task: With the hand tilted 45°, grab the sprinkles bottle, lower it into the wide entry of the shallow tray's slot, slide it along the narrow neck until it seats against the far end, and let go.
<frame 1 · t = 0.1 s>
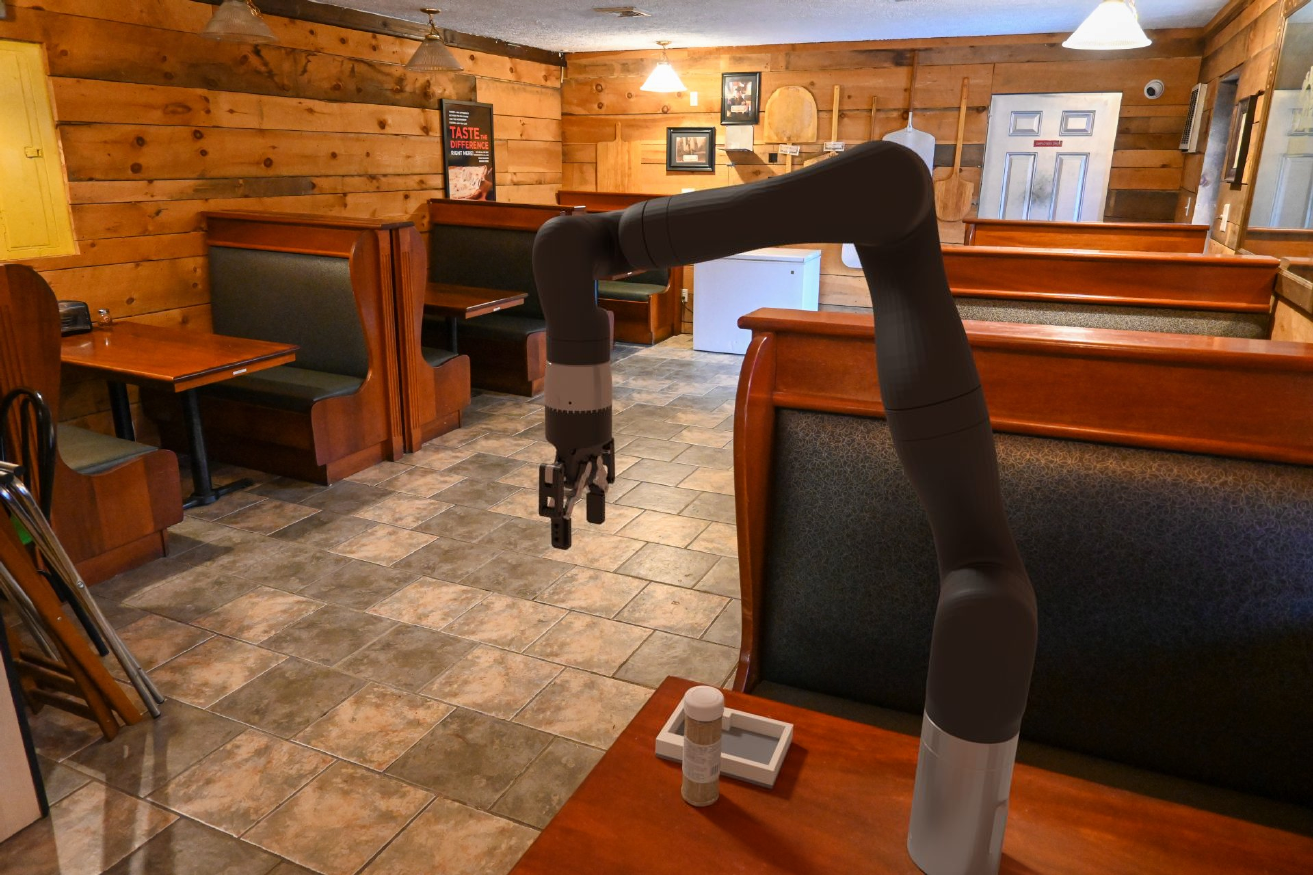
hand: (579, 534, 101), 29 cm above the table, tool pointing down, fingers open, 8 cm apart
shallow tray: (724, 748, 110), on the table
sprinkles bottle: (699, 796, 101), on the table
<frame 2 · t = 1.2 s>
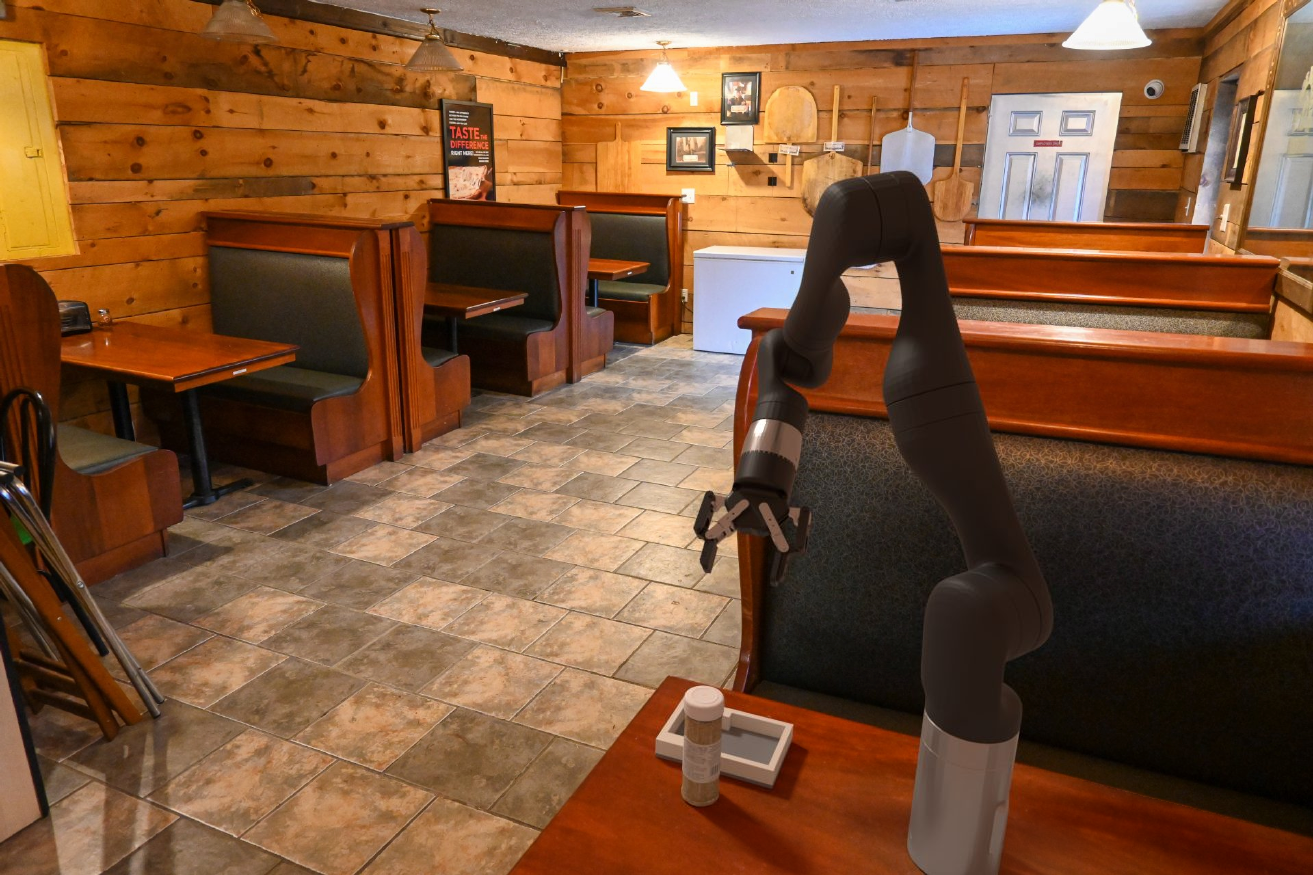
hand: (739, 577, 106), 23 cm above the table, tool tilted 45°, fingers open, 8 cm apart
nothing on the table moved.
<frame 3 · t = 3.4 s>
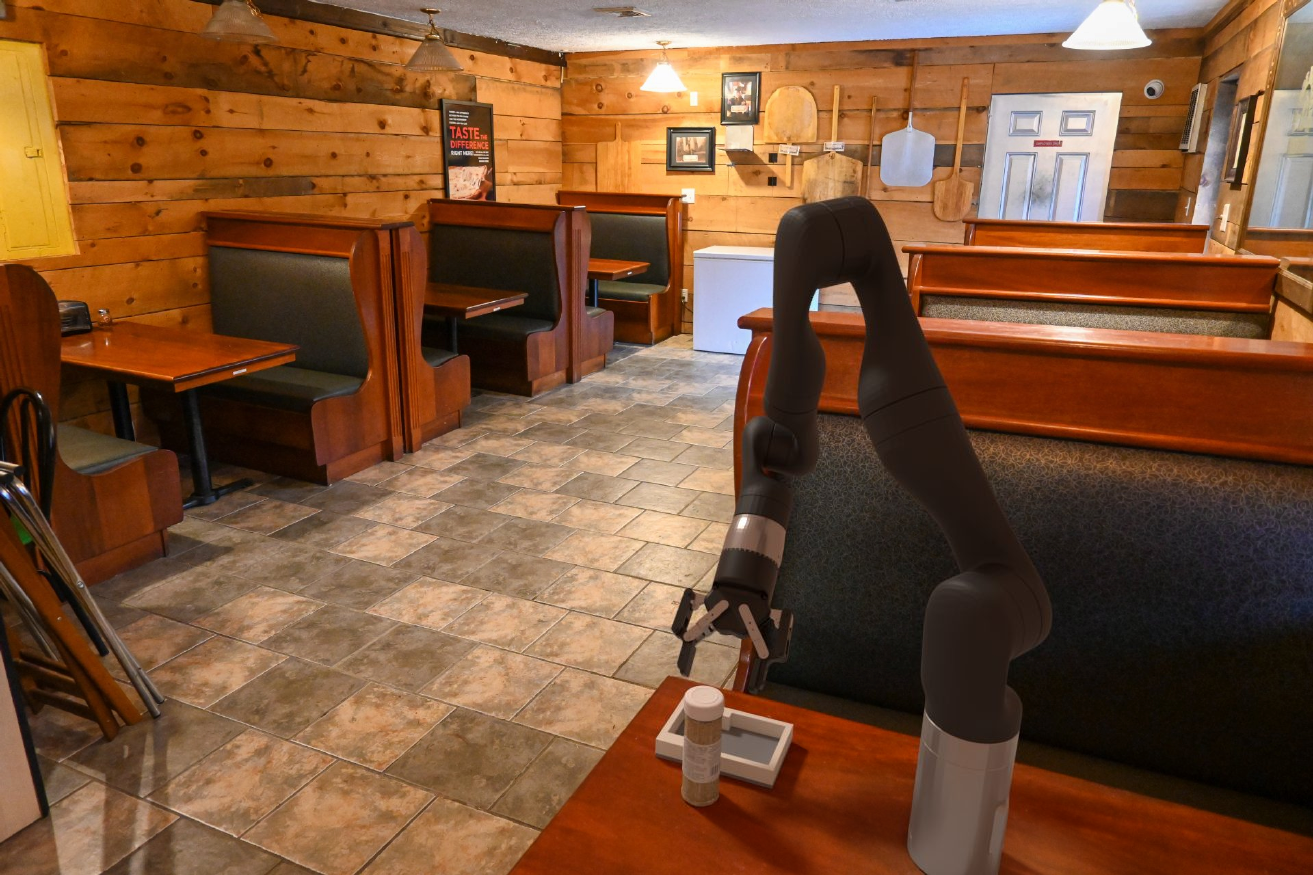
hand: (717, 683, 102), 12 cm above the table, tool tilted 45°, fingers open, 8 cm apart
nothing on the table moved.
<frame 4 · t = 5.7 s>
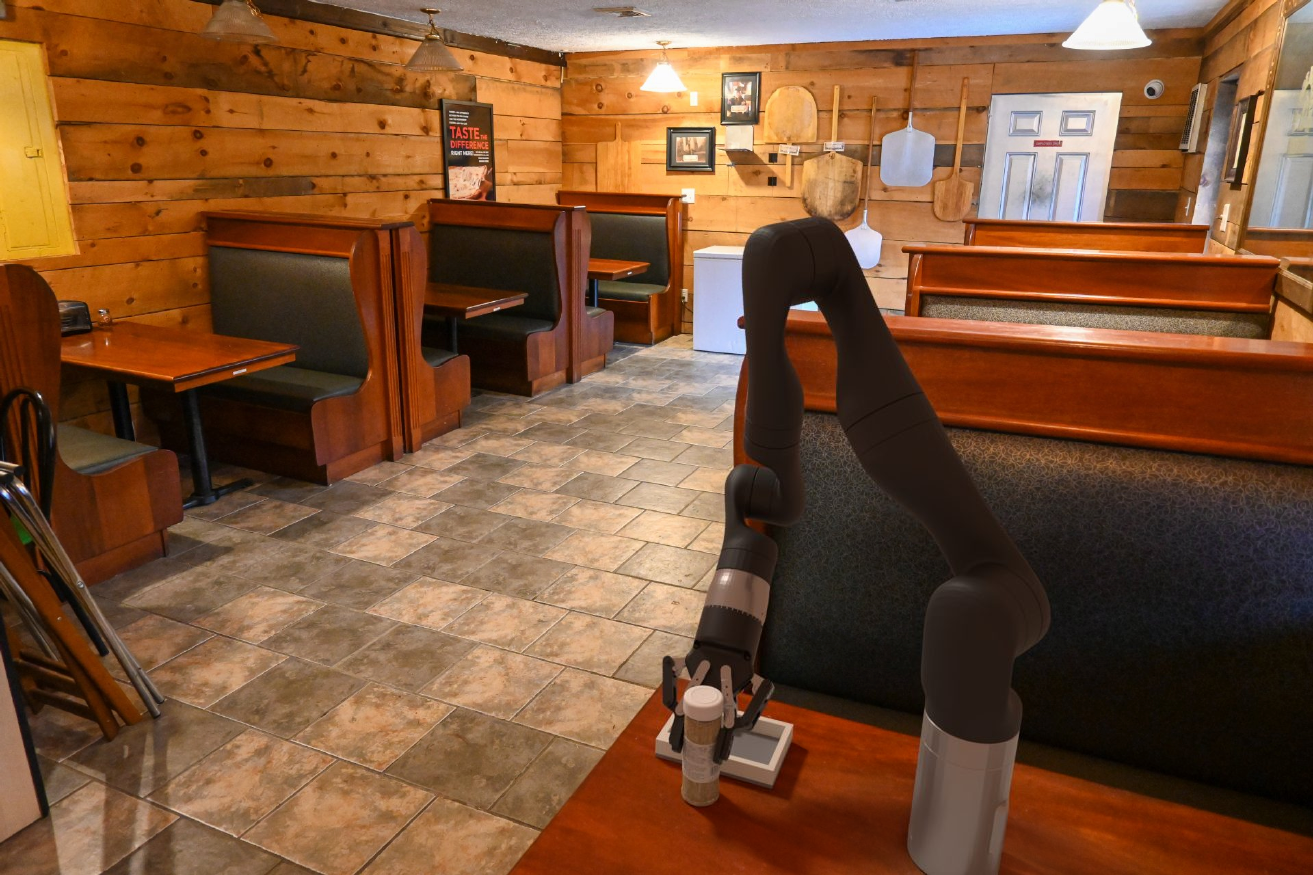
hand: (696, 756, 98), 7 cm above the table, tool tilted 45°, fingers closed on sprinkles bottle, 4 cm apart
sprinkles bottle: (699, 796, 101), on the table, touching gripper
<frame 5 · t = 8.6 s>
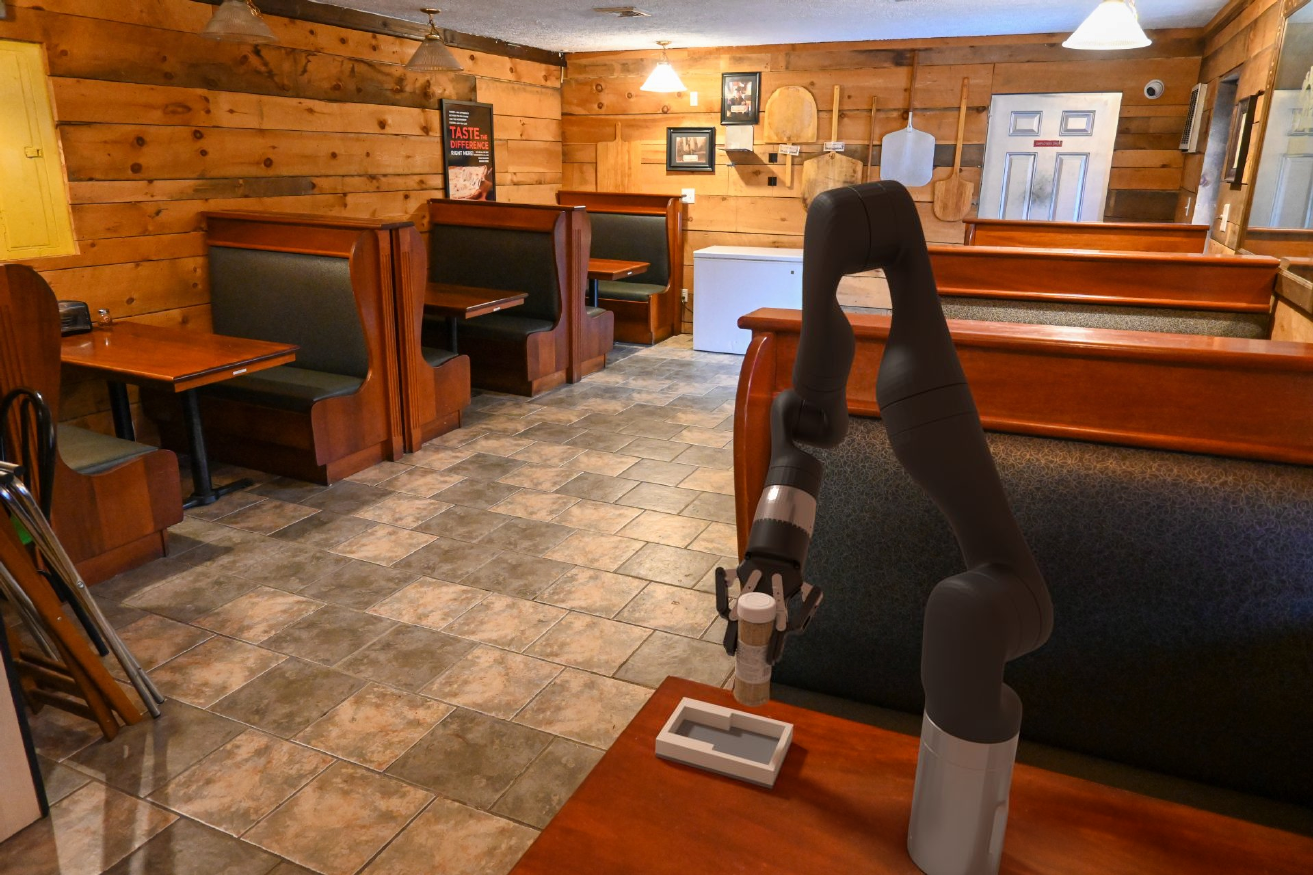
hand: (750, 658, 103), 15 cm above the table, tool tilted 45°, fingers closed on sprinkles bottle, 4 cm apart
sprinkles bottle: (751, 698, 107), point 8 cm above the table, touching gripper
when the fingers open (7 cm above the table, at t = 11.9 s): sprinkles bottle stays where it is, resting on shallow tray.
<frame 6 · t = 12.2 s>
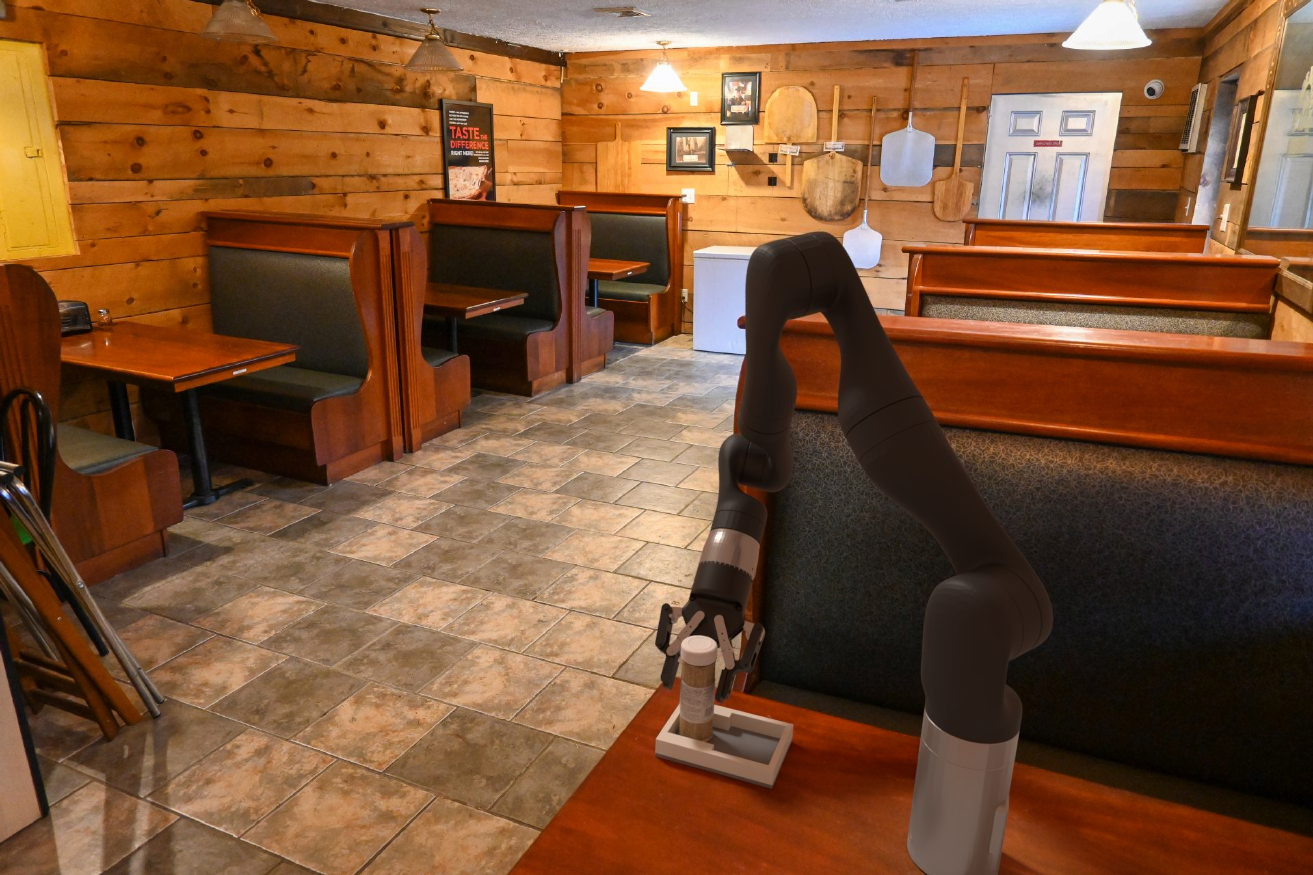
hand: (692, 694, 107), 8 cm above the table, tool tilted 45°, fingers open, 6 cm apart
sprinkles bottle: (695, 737, 111), resting on shallow tray
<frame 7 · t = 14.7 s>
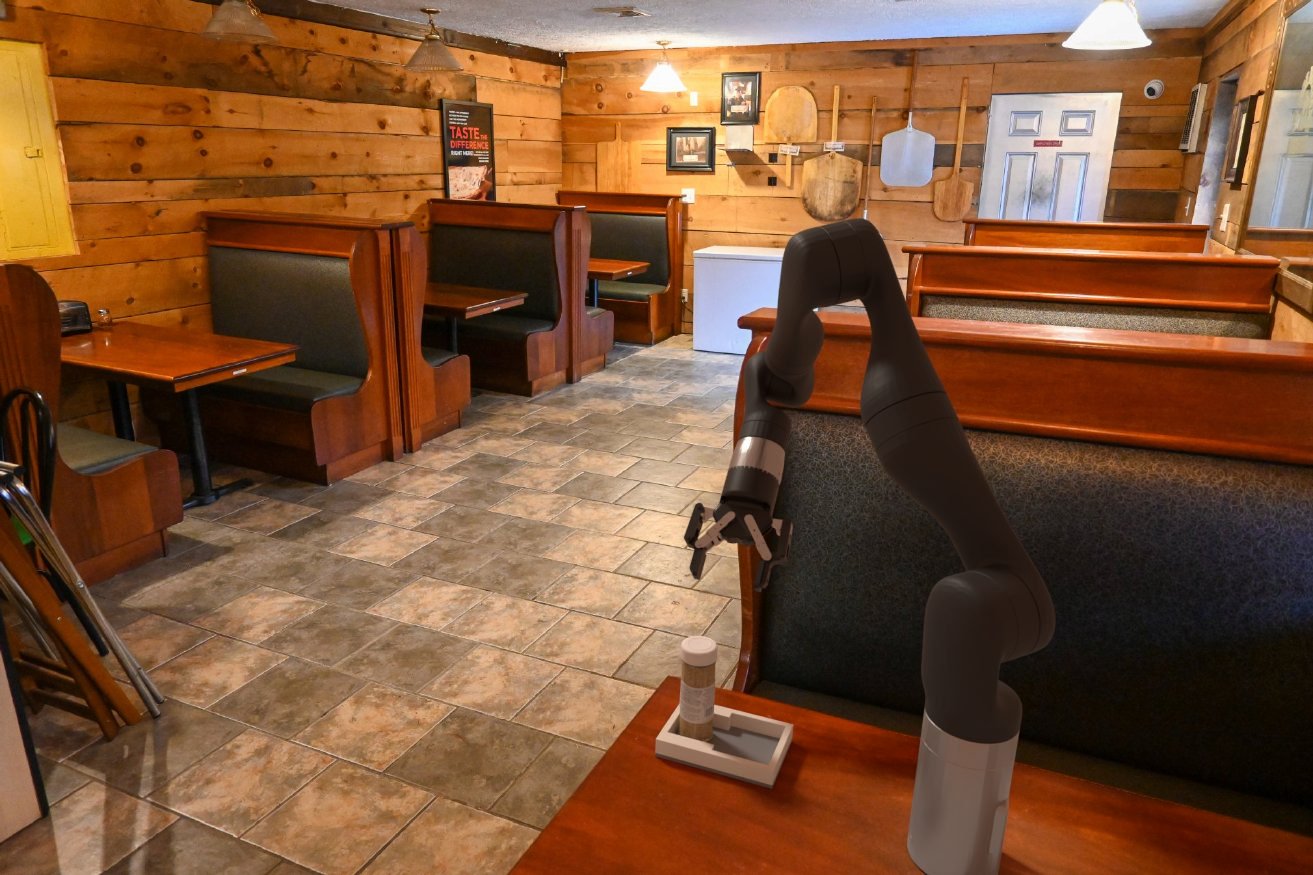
hand: (726, 583, 115), 18 cm above the table, tool tilted 45°, fingers open, 8 cm apart
nothing on the table moved.
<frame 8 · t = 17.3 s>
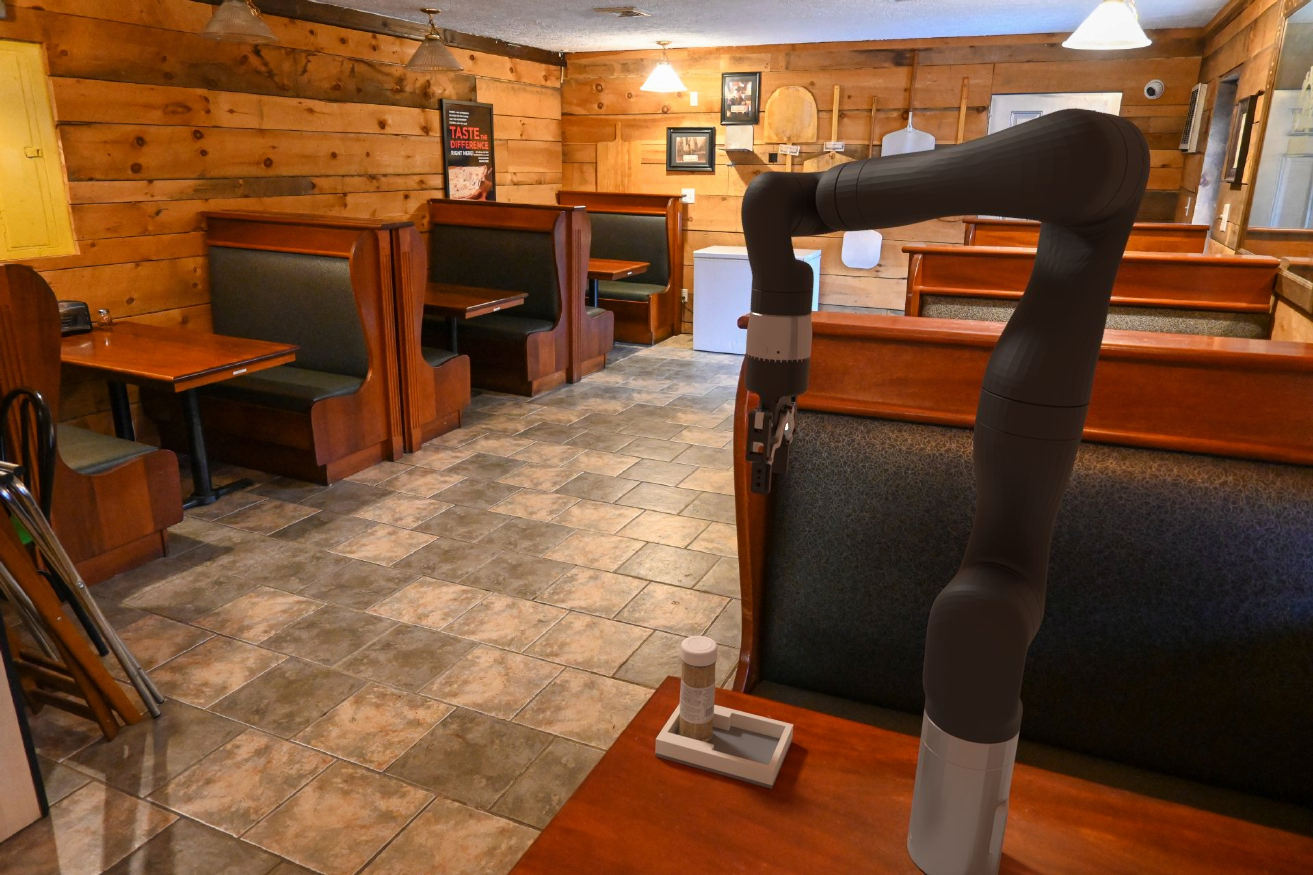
hand: (769, 482, 105), 34 cm above the table, tool pointing down, fingers open, 8 cm apart
nothing on the table moved.
at the end: sprinkles bottle 0.3 cm from the target spot on the shallow tray, point 0.3 cm above the shallow tray's base; sprinkles bottle tilted 0°; the gripper is holding nothing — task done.
